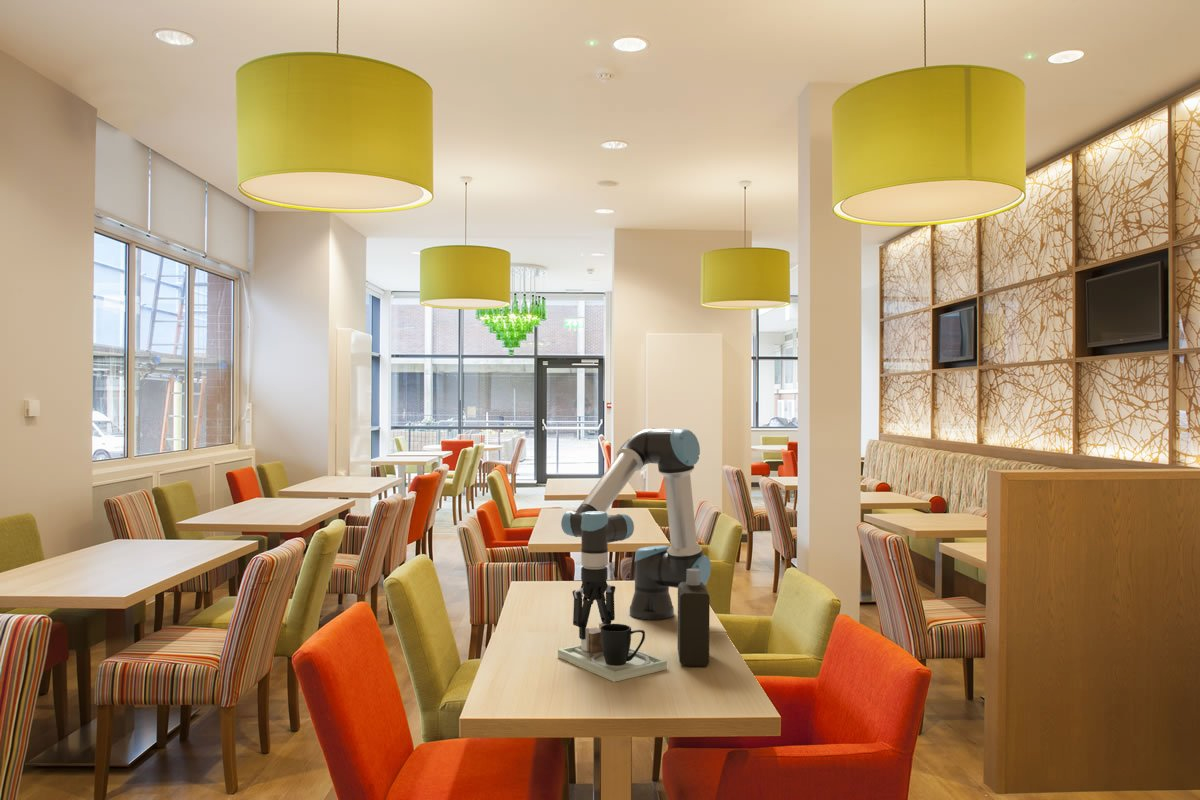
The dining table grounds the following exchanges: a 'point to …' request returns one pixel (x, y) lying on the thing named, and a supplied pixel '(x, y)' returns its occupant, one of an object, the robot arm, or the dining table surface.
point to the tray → (597, 665)
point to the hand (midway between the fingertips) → (594, 648)
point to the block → (595, 641)
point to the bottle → (693, 621)
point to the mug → (618, 643)
